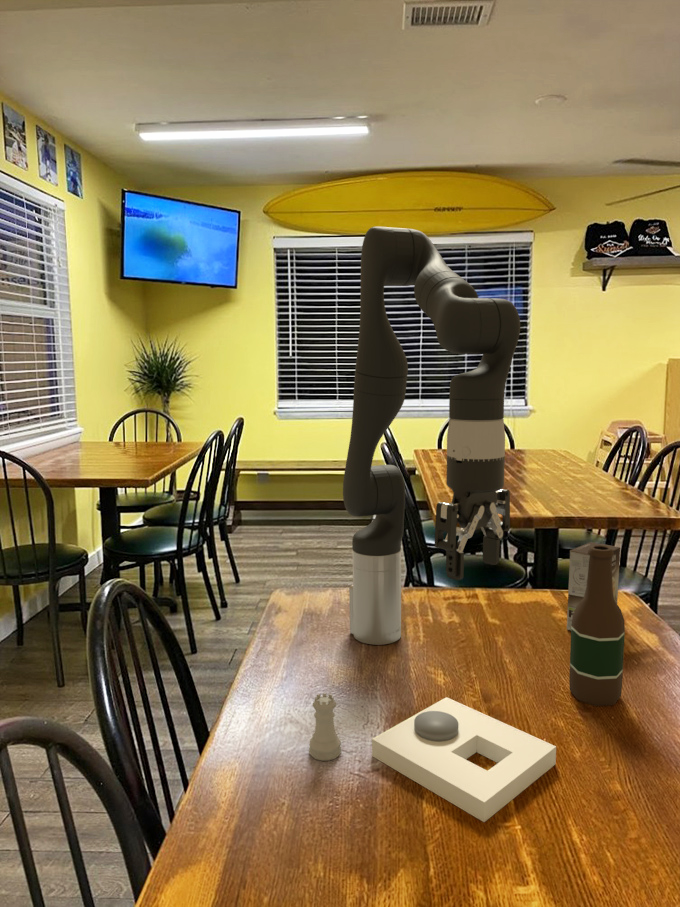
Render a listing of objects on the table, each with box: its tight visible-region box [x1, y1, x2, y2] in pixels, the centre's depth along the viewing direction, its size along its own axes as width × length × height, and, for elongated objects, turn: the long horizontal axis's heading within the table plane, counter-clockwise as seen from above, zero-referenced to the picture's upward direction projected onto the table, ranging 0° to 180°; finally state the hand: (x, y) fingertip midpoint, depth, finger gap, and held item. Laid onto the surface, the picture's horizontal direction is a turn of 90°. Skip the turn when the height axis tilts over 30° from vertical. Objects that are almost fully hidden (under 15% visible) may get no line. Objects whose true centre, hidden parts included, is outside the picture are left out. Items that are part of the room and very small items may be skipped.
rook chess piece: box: [308, 692, 342, 762], centre depth 90 cm, size 4×4×8 cm
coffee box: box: [566, 541, 621, 632], centre depth 130 cm, size 9×6×16 cm
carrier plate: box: [371, 696, 557, 823], centre depth 88 cm, size 18×16×4 cm
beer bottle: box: [568, 545, 626, 707], centre depth 103 cm, size 8×8×24 cm
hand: (473, 570), depth 90 cm, fingers open, 8 cm apart
